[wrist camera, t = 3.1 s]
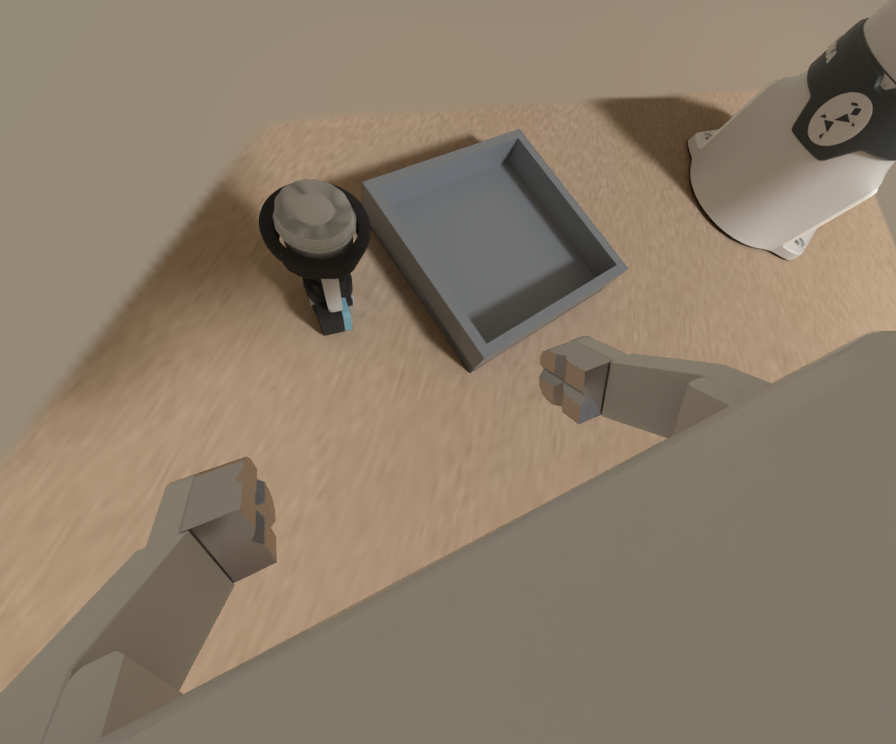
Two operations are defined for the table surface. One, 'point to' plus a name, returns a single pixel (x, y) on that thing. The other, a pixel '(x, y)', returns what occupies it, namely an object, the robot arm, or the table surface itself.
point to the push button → (318, 243)
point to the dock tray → (489, 243)
